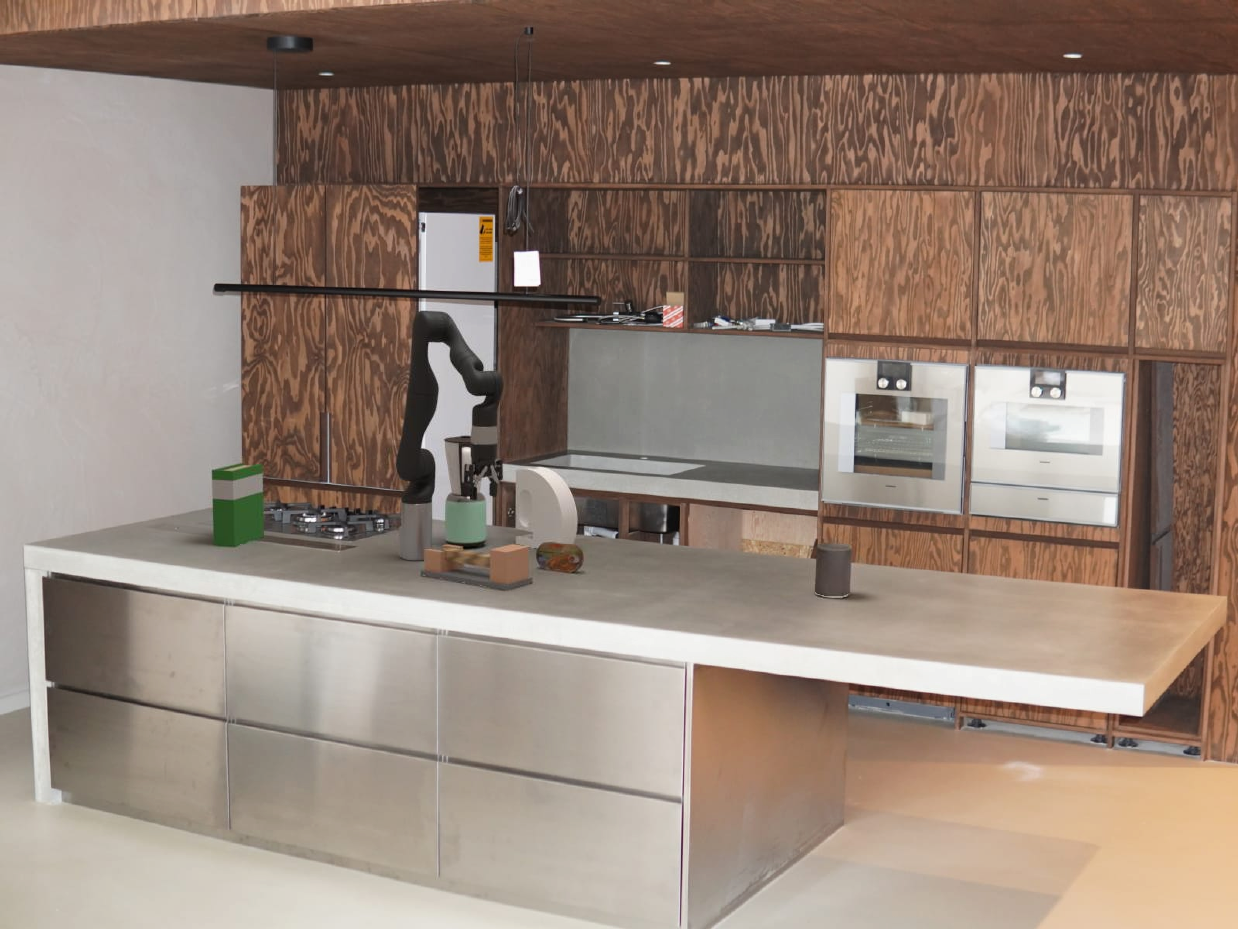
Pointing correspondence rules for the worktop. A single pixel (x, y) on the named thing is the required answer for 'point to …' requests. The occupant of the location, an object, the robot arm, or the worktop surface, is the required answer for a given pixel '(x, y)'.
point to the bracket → (544, 508)
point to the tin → (559, 557)
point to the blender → (463, 499)
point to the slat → (467, 557)
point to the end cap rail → (504, 569)
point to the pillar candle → (833, 569)
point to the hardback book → (237, 504)
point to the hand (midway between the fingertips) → (483, 498)
